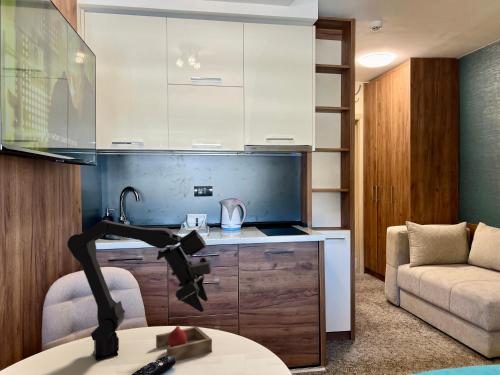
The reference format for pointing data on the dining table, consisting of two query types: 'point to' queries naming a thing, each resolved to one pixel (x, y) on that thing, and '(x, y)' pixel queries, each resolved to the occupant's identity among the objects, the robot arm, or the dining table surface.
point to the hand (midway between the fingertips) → (204, 305)
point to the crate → (190, 349)
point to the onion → (177, 337)
